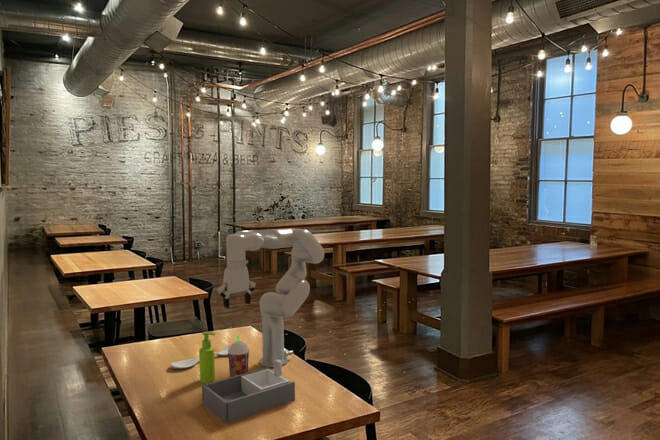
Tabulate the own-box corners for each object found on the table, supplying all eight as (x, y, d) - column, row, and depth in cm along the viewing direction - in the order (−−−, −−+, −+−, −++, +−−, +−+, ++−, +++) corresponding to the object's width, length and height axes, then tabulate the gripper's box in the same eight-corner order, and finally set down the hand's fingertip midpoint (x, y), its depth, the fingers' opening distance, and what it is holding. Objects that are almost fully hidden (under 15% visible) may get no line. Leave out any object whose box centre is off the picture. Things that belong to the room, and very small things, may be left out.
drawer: (270, 382, 200) (270, 354, 199) (292, 395, 188) (291, 365, 187) (241, 391, 192) (240, 362, 191) (261, 404, 180) (261, 374, 179)
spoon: (240, 355, 235) (240, 347, 235) (176, 373, 213) (176, 366, 213) (229, 350, 242) (229, 343, 241) (166, 368, 219) (166, 360, 219)
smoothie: (253, 381, 205) (252, 333, 203) (243, 389, 197) (242, 339, 195) (235, 378, 207) (234, 331, 206) (224, 386, 199) (223, 337, 198)
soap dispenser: (213, 383, 202) (212, 335, 200) (197, 382, 204) (196, 334, 202) (219, 377, 208) (218, 330, 206) (204, 376, 209) (202, 329, 207)
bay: (268, 383, 202) (267, 366, 201) (294, 400, 187) (294, 382, 186) (202, 403, 184) (201, 385, 184) (226, 423, 170) (225, 403, 169)
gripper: (249, 260, 213) (250, 300, 215) (212, 265, 202) (213, 307, 204) (259, 263, 207) (260, 303, 209) (221, 268, 196) (222, 311, 198)
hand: (237, 305), depth 206 cm, fingers open, 9 cm apart
